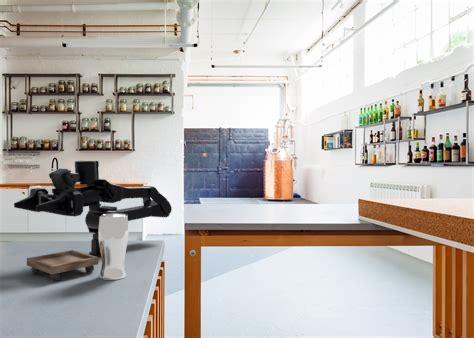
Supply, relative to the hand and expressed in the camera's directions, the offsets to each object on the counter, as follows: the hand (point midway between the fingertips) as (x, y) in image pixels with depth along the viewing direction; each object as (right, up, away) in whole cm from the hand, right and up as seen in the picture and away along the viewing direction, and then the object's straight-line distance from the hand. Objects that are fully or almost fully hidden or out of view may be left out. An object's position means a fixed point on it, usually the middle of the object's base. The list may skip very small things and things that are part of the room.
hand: (25, 206), depth 98 cm
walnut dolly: (+9, -17, +1) cm, 19 cm away
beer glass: (+22, -17, -2) cm, 28 cm away
